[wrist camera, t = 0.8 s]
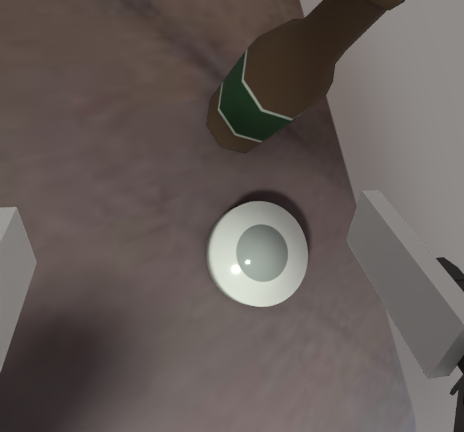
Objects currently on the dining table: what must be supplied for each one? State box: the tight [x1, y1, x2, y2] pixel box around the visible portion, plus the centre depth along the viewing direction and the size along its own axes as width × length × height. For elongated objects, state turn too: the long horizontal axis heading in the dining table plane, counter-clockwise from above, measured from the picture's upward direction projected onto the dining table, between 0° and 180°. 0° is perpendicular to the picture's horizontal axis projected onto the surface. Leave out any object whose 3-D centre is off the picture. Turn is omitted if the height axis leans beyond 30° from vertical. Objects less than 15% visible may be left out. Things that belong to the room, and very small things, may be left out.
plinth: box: [205, 201, 308, 307], centre depth 41 cm, size 11×11×2 cm
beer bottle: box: [206, 0, 405, 153], centre depth 33 cm, size 8×8×24 cm
